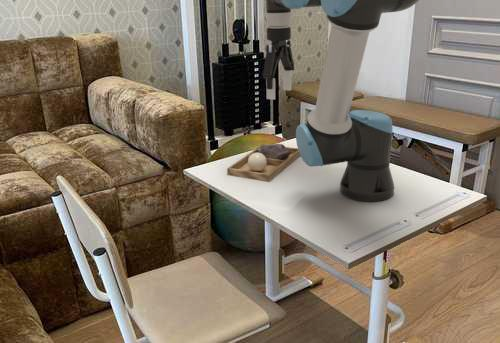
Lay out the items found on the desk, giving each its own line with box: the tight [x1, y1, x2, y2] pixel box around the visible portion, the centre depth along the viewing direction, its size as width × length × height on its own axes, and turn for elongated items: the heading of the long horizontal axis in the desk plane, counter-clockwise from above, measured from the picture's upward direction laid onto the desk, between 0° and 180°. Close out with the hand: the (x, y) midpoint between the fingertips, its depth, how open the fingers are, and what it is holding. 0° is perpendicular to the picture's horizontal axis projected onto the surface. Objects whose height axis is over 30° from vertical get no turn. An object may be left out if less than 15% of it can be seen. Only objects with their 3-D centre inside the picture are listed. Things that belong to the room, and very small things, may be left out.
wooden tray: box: [226, 143, 301, 183], centre depth 163 cm, size 15×26×3 cm, turn 152°
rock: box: [257, 143, 291, 160], centre depth 168 cm, size 8×11×5 cm
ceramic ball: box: [248, 153, 267, 171], centre depth 157 cm, size 6×6×6 cm
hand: (279, 94), depth 162 cm, fingers open, 13 cm apart
